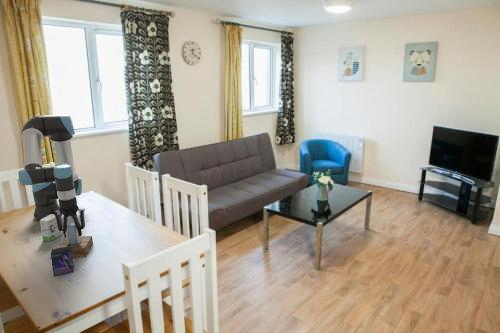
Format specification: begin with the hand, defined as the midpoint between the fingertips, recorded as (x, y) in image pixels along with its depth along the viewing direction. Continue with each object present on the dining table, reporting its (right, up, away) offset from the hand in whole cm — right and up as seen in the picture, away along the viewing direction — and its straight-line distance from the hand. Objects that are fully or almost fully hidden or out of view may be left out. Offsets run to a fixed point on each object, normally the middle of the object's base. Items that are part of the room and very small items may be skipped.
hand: (74, 242), depth 168 cm
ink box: (-20, -1, +17) cm, 26 cm away
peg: (0, -5, +1) cm, 5 cm away
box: (+3, -10, -15) cm, 18 cm away
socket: (0, -5, +1) cm, 5 cm away
